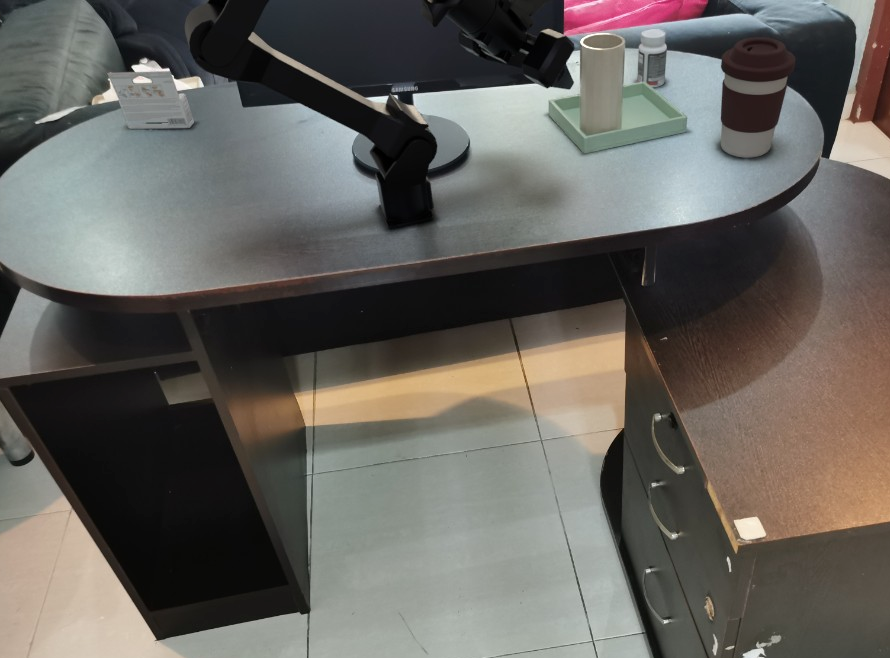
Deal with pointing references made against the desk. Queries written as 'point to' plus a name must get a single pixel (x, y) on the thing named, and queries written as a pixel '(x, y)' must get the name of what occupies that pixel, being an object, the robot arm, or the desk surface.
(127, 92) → the ink cartridge box
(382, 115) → the robot arm
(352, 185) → the desk surface
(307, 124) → the desk surface
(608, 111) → the tumbler
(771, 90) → the coffee cup
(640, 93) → the tray
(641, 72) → the pill bottle
